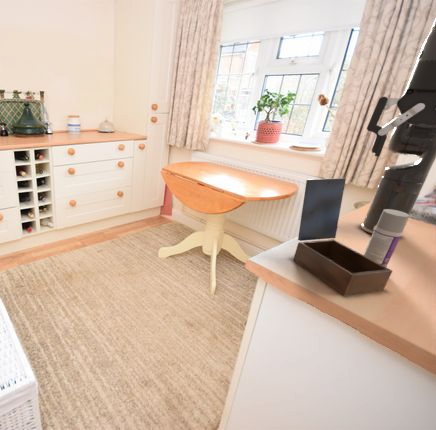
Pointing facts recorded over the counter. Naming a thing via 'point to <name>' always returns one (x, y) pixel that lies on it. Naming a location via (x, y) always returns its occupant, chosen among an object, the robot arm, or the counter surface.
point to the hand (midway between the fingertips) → (406, 159)
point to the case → (342, 267)
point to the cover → (321, 208)
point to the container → (386, 236)
